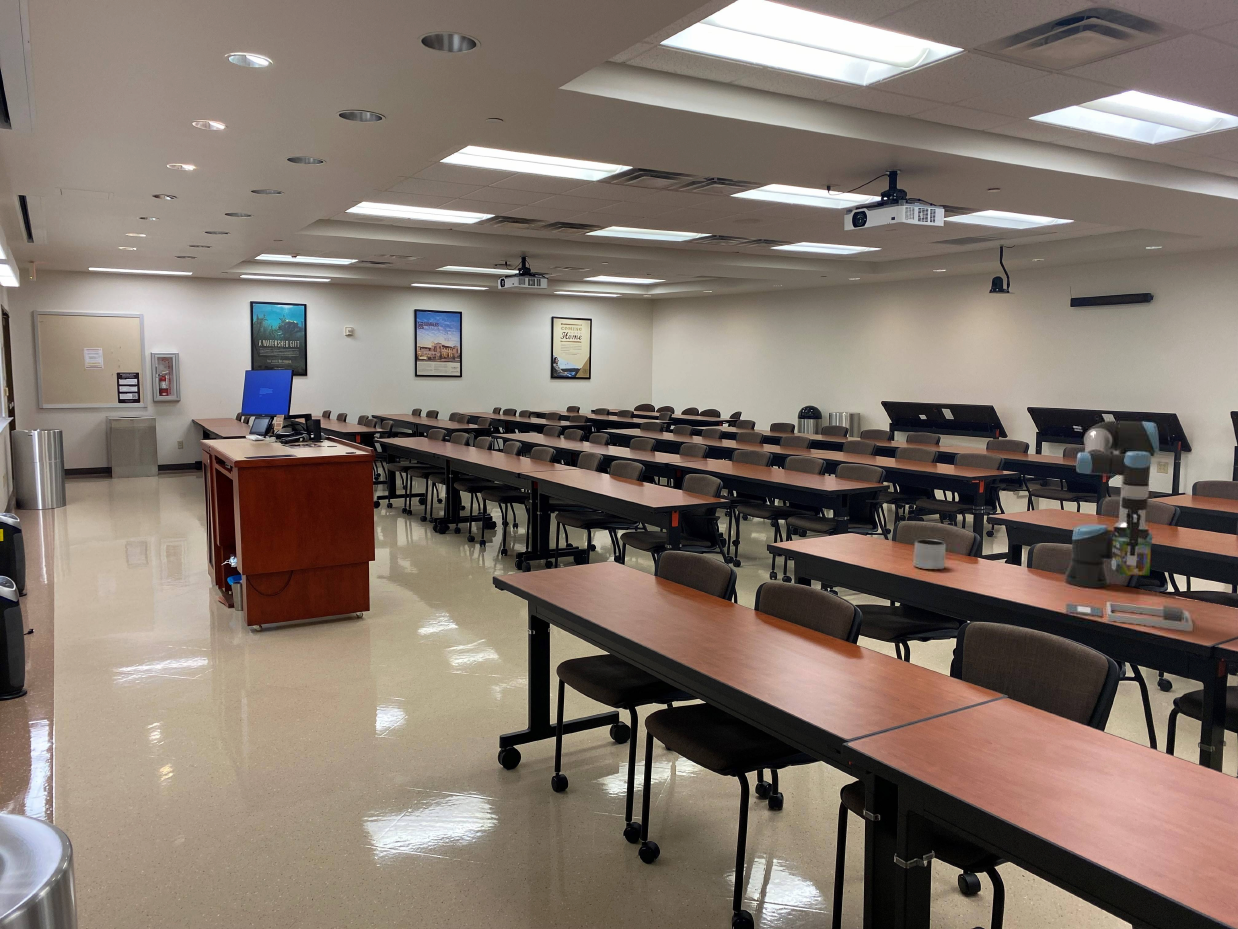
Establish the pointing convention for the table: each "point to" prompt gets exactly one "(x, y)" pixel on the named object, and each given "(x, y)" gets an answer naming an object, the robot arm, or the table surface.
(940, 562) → the planter
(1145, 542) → the chalk box
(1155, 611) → the tray
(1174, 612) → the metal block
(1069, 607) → the pad
